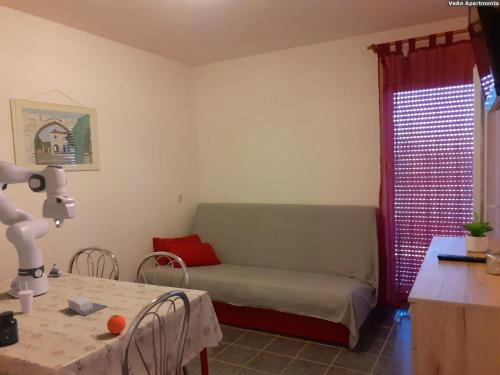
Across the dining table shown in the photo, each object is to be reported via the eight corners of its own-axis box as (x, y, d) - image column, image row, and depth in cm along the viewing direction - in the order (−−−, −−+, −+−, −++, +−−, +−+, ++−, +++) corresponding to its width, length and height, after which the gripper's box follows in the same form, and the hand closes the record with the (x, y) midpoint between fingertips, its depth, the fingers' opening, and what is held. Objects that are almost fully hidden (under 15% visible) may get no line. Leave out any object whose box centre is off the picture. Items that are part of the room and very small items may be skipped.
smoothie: (38, 310, 181) (36, 280, 180) (26, 315, 175) (24, 285, 174) (28, 309, 183) (25, 280, 182) (15, 314, 177) (13, 284, 176)
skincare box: (80, 295, 186) (92, 299, 178) (80, 304, 186) (93, 309, 178) (67, 299, 181) (79, 303, 173) (68, 308, 181) (80, 313, 173)
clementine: (103, 332, 153) (102, 315, 152) (120, 327, 158) (118, 309, 157) (112, 338, 147) (111, 320, 147) (129, 332, 152) (128, 314, 152)
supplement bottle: (-6, 350, 142) (-8, 317, 141) (1, 342, 148) (-2, 311, 148) (16, 346, 144) (13, 315, 143) (21, 339, 150) (18, 308, 150)
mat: (66, 311, 178) (66, 310, 178) (89, 303, 188) (88, 302, 188) (85, 316, 171) (85, 315, 171) (107, 306, 182) (107, 305, 182)
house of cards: (69, 272, 249) (68, 260, 249) (61, 276, 240) (60, 264, 240) (57, 272, 250) (56, 260, 250) (48, 276, 242) (47, 264, 241)
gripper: (37, 199, 188) (39, 227, 189) (64, 199, 178) (67, 229, 179) (49, 198, 194) (52, 225, 195) (76, 198, 184) (78, 227, 185)
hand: (59, 227), depth 187 cm, fingers closed
